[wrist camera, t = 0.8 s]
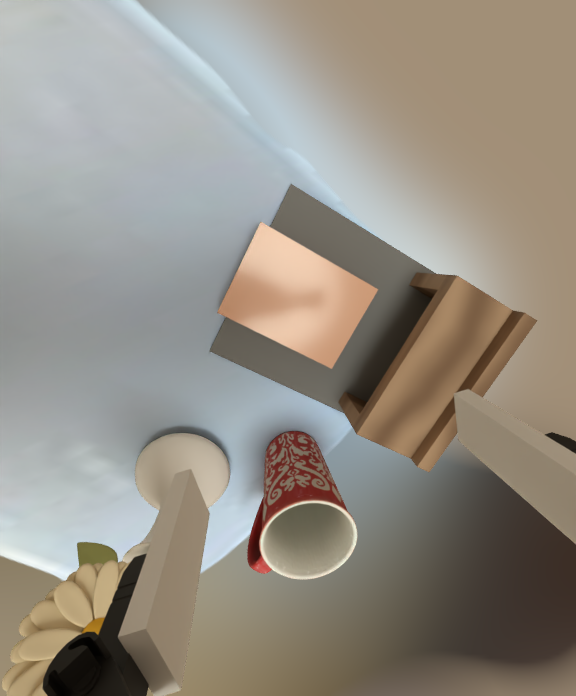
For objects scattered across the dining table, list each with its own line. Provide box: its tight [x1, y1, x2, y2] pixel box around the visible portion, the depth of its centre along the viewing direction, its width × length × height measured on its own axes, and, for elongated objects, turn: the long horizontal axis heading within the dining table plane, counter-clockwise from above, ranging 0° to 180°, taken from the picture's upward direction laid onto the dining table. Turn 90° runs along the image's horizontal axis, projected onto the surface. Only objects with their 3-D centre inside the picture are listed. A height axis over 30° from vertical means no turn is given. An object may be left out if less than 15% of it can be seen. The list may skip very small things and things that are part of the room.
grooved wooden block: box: [338, 273, 537, 472], centre depth 34 cm, size 9×18×9 cm, turn 152°
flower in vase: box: [2, 433, 230, 696], centre depth 28 cm, size 13×11×25 cm
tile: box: [217, 222, 378, 369], centre depth 34 cm, size 14×10×3 cm
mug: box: [248, 431, 357, 579], centre depth 35 cm, size 13×9×14 cm
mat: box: [210, 184, 436, 413], centre depth 37 cm, size 28×20×1 cm
